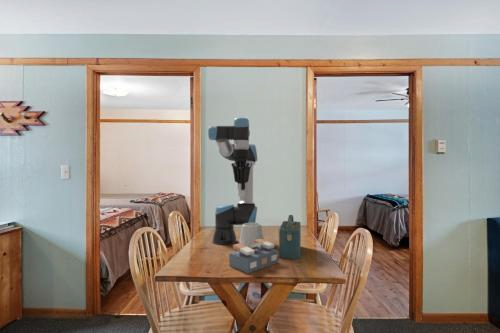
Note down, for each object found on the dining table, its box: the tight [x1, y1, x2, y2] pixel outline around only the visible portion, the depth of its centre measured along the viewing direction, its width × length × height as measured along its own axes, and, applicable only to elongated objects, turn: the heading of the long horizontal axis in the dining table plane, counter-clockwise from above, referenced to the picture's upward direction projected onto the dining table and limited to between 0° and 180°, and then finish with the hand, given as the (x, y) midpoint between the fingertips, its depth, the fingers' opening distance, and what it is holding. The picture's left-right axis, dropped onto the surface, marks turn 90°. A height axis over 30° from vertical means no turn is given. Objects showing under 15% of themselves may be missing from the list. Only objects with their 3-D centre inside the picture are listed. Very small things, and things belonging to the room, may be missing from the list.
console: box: [228, 246, 279, 274], centre depth 130 cm, size 13×21×8 cm, turn 134°
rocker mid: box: [247, 242, 264, 250], centre depth 130 cm, size 10×5×2 cm, turn 44°
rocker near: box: [232, 242, 255, 255], centre depth 125 cm, size 10×5×2 cm, turn 44°
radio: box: [278, 214, 302, 260], centre depth 150 cm, size 26×11×20 cm, turn 168°
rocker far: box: [254, 239, 275, 249], centre depth 135 cm, size 10×5×2 cm, turn 44°
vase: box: [238, 222, 265, 246], centre depth 151 cm, size 14×14×15 cm
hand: (241, 196), depth 134 cm, fingers closed
